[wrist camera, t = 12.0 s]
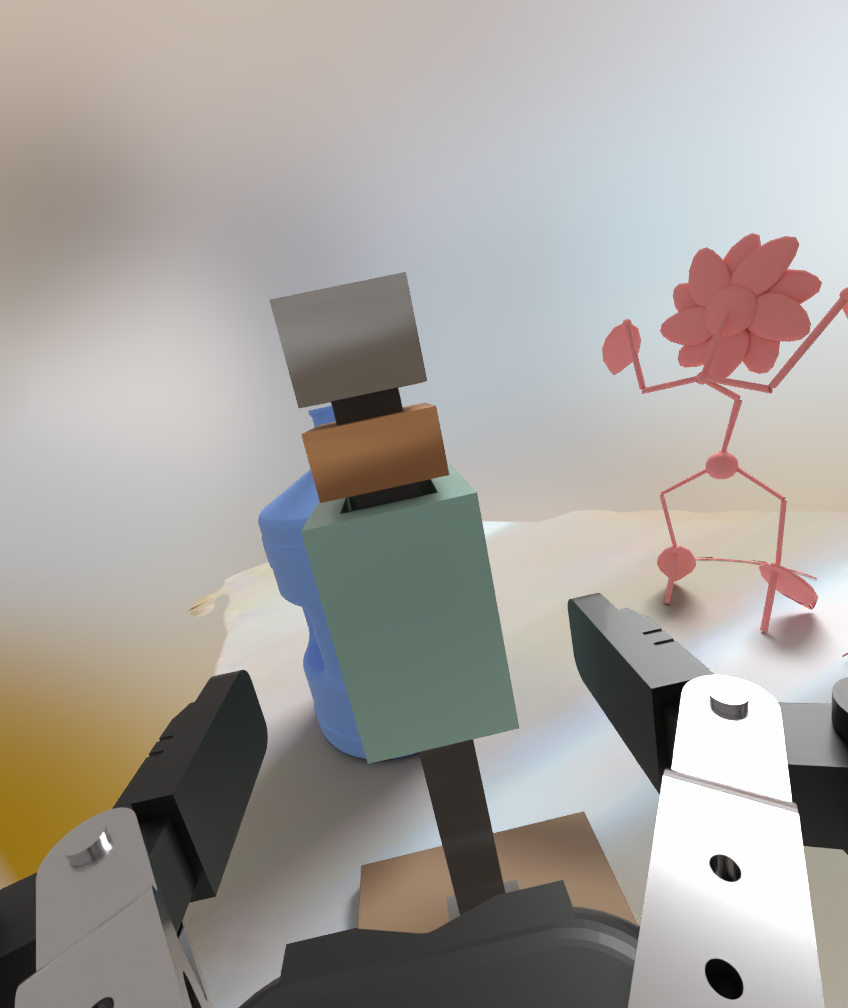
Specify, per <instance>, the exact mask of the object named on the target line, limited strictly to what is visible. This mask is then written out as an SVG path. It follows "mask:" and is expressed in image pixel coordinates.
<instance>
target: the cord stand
mask: <svg viewBox="0 0 848 1008" xmlns="http://www.w3.org/2000/svg"><path fill="white" fill-rule="evenodd" d="M270 303H271V307H272V311H273V314H274V318H275V322H276V326H277V329H278V333H279V336H280V340H281V344H282V348H283V352H284V355H285V359H286V363H287V366H288V370H289V374H290V377H291V381H292V385H293V388H294V392H295V396H296V400H297V403H298V407H299V408H302V407H308V406H313V405H319V404H324V403H328V402H331V404H332V408H333V412H334V416H335V420H336V422H332V423H327V424H322V425H319V426H317V427H315V428H313V429H312V430H309V431H307V432H305V433H303V434H302V438H303V442H304V446H305V450H306V453H307V457H308V461H309V464H310V468H311V472H312V475H313V479H314V483H315V486H316V490H317V494H318V497H319V501H320V503H324V502H328V501H333V500H338V499H342V498H347V497H351V496H355V499H356V503H357V507H358V510H361V509H365V508H370V507H374V506H379V505H384V504H388V503H393V502H397V501H402V500H406V499H411V498H415V497H420V496H421V493H420V488H419V484H418V482H420V481H425V480H429V479H434V478H438V477H443V476H447V475H449V470H448V465H447V460H446V455H445V450H444V445H443V439H442V434H441V430H440V424H439V419H438V414H437V409H436V406H435V405H431V404H428V403H421V404H416V405H412V406H407V407H402V404H401V399H400V395H399V390H398V388H399V387H403V386H408V385H413V384H417V383H421V382H425V381H427V378H426V373H425V368H424V363H423V358H422V352H421V347H420V342H419V337H418V332H417V327H416V322H415V317H414V312H413V306H412V301H411V296H410V291H409V286H408V281H407V276H406V272H403V273H399V274H394V275H389V276H384V277H379V278H374V279H369V280H364V281H360V282H354V283H350V284H345V285H340V286H335V287H330V288H325V289H320V290H315V291H310V292H305V293H301V294H296V295H291V296H286V297H281V298H276V299H271V300H270ZM419 754H420V758H421V762H422V766H423V770H424V774H425V778H426V782H427V786H428V790H429V794H430V798H431V802H432V806H433V810H434V814H435V818H436V822H437V826H438V830H439V834H440V838H441V842H442V846H440V847H436V848H432V849H428V850H424V851H420V852H415V853H411V854H407V855H403V856H399V857H395V858H391V859H387V860H383V861H379V862H374V863H370V864H366V865H362V866H361V881H360V901H359V921H358V929H371V930H383V931H396V932H408V933H428V932H431V931H433V930H435V929H437V928H439V927H441V926H442V925H444V924H446V923H448V922H450V921H451V920H453V919H455V918H457V917H458V916H460V915H462V914H464V913H466V912H467V911H469V910H471V909H473V908H474V907H476V906H478V905H480V904H482V903H483V902H485V901H487V900H489V899H490V898H492V897H494V896H496V895H500V894H504V893H508V892H513V891H517V890H521V889H525V888H530V887H534V886H538V885H543V884H547V883H551V882H555V881H560V880H563V881H564V883H565V886H566V889H567V892H568V895H569V897H570V900H571V903H572V906H576V907H586V908H591V909H596V910H600V911H604V912H607V913H610V914H613V915H616V916H619V917H622V918H624V919H626V920H628V921H630V922H632V923H634V924H636V925H637V923H636V920H635V918H634V916H633V914H632V912H631V910H630V908H629V906H628V904H627V901H626V899H625V897H624V895H623V893H622V891H621V889H620V887H619V885H618V882H617V880H616V878H615V876H614V874H613V872H612V870H611V868H610V866H609V863H608V861H607V859H606V857H605V855H604V853H603V851H602V849H601V847H600V844H599V842H598V840H597V838H596V836H595V834H594V832H593V830H592V828H591V825H590V823H589V821H588V819H587V817H586V815H585V813H584V812H580V813H575V814H571V815H567V816H563V817H559V818H555V819H551V820H547V821H543V822H539V823H534V824H530V825H526V826H522V827H518V828H514V829H510V830H506V831H502V832H497V833H493V832H492V827H491V822H490V817H489V813H488V808H487V803H486V799H485V794H484V789H483V785H482V780H481V775H480V770H479V766H478V761H477V756H476V752H475V747H474V742H473V739H471V740H467V741H463V742H459V743H454V744H450V745H446V746H442V747H438V748H433V749H429V750H425V751H421V752H419Z"/></svg>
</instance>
